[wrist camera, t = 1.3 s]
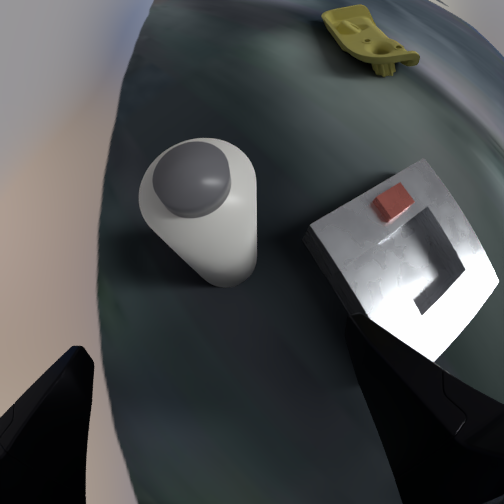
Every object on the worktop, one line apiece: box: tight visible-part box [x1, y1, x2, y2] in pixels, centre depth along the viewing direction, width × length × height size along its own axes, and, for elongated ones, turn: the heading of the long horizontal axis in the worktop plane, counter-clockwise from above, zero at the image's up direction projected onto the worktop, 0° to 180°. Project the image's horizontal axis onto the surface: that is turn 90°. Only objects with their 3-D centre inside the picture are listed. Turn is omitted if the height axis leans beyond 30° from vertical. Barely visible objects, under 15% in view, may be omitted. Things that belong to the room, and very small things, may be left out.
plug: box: [139, 138, 257, 288], centre depth 16 cm, size 5×5×12 cm
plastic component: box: [322, 4, 420, 77], centre depth 28 cm, size 20×7×10 cm
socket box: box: [302, 158, 499, 362], centre depth 19 cm, size 14×14×4 cm
